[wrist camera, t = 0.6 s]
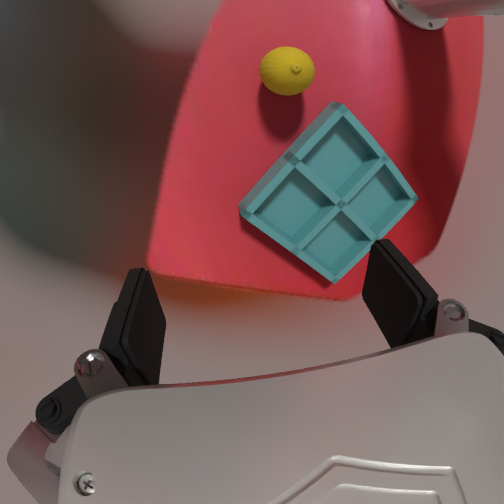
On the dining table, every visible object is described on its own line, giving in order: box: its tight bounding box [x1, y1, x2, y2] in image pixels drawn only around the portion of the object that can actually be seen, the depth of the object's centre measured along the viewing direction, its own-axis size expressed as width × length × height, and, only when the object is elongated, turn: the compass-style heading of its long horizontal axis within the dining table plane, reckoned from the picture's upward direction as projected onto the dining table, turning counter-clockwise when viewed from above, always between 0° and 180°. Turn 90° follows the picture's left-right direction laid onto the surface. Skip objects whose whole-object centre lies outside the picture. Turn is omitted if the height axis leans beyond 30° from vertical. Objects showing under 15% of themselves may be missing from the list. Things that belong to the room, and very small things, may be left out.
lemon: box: [259, 47, 315, 96], centre depth 25 cm, size 6×6×8 cm
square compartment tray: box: [238, 102, 418, 284], centre depth 36 cm, size 18×18×4 cm
